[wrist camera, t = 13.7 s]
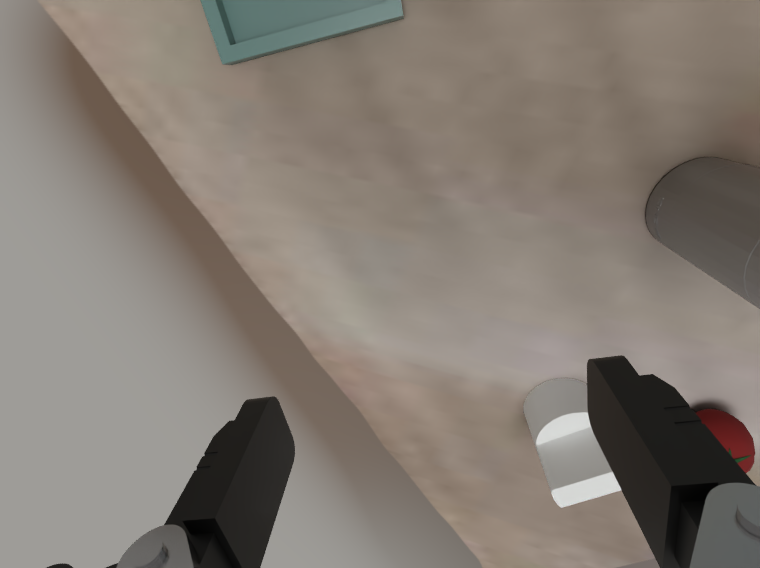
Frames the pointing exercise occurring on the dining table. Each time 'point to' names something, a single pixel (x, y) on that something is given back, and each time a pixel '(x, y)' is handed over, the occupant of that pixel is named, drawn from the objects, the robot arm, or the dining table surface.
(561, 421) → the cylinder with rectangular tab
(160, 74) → the dining table surface
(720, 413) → the tomato
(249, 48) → the tray
